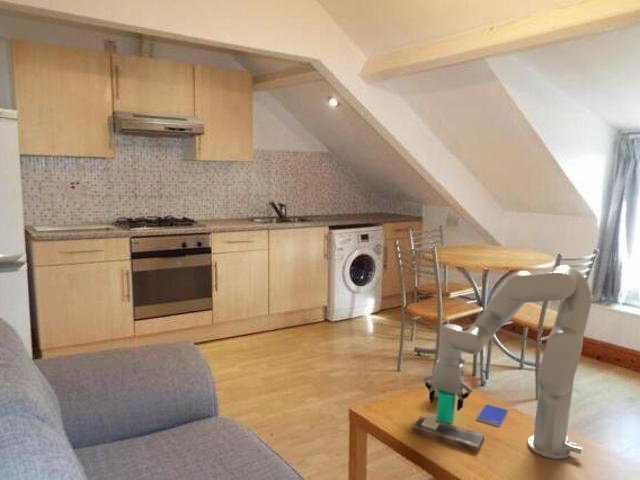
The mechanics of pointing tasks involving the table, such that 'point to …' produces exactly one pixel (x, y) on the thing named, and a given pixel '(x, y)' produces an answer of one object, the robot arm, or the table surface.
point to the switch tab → (430, 421)
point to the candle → (445, 406)
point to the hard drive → (492, 415)
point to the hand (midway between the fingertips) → (445, 405)
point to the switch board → (450, 435)
